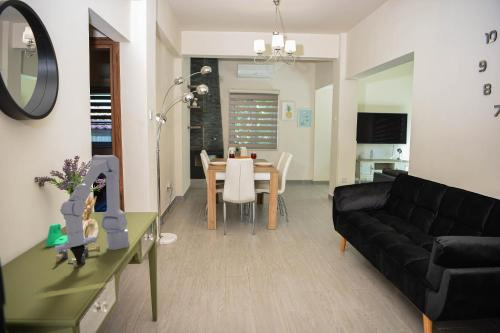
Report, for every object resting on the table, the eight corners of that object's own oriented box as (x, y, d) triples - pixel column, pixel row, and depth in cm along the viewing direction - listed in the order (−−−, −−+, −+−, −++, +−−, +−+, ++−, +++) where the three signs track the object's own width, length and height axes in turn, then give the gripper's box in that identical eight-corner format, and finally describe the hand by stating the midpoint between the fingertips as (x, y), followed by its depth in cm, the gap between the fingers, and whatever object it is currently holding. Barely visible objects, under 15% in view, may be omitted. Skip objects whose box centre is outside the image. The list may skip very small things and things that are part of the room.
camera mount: (63, 249, 158) (61, 227, 157) (46, 249, 158) (44, 228, 156) (75, 240, 170) (73, 220, 169) (60, 240, 170) (58, 220, 168)
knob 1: (61, 257, 144) (60, 249, 143) (69, 256, 144) (68, 248, 144) (53, 265, 136) (52, 256, 136) (61, 264, 137) (61, 256, 136)
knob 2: (78, 262, 139) (77, 253, 138) (86, 261, 139) (85, 253, 138) (70, 270, 131) (69, 261, 130) (79, 269, 131) (78, 261, 131)
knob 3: (80, 258, 143) (79, 250, 142) (81, 255, 146) (80, 247, 145) (100, 255, 145) (99, 247, 145) (100, 252, 148) (99, 244, 148)
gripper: (90, 224, 139) (93, 256, 140) (51, 233, 129) (55, 267, 131) (97, 227, 134) (100, 260, 135) (56, 237, 124) (60, 272, 125)
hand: (78, 264), depth 133 cm, fingers closed, pressing on knob 2
